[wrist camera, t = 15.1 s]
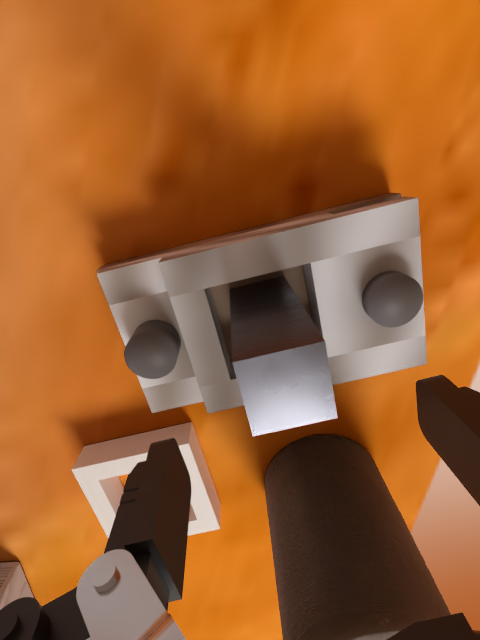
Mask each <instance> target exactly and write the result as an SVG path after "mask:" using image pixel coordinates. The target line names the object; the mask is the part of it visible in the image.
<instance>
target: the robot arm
mask: <svg viewBox="0 0 480 640" xmlns="http://www.w3.org/2000/svg"><path fill="white" fill-rule="evenodd" d="M416 396H417V410H418V421H419V425H420V428H421V431H422V433H423V435H424V436H425V438H426V439H427V441H428V442H429V443H430V444H431V446H432V447H433V448H434V449H435V451H436V452H437V453H438V454H439V456H440V457H441V458H442V459H443V461H444V462H445V463H446V464H447V466H448V467H449V468H450V469H451V471H452V472H453V473H454V474H455V476H456V477H457V478H458V479H459V481H460V482H461V483H462V484H463V486H464V487H465V488H466V489H467V491H468V492H469V493H470V494H471V496H472V497H473V498H474V499H475V500H476V502H477V503H478V504H479V506H480V393H479V392H477V391H475V390H472V389H470V388H468V387H461V388H458V387H457V386H456V385H454V384H453V383H452V382H451V381H450V380H449V379H447V378H446V377H445V376H443V375H439V376H435V377H430V378H426V379H422V380H418V381H417V382H416ZM123 492H124V493H123V494H122V497H121V500H120V506H118V510H117V513H116V516H115V519H114V522H113V526H112V529H111V532H110V535H109V539H108V542H107V545H106V548H105V552H104V554H103V555H101V556H100V557H98V558H97V559H96V560H95V561H94V562H93V563H92V564H91V565H90V566H89V567H88V568H87V569H86V571H85V572H84V574H83V575H82V577H81V579H80V581H79V584H78V586H77V587H76V588H74V589H73V590H71V591H69V592H67V593H66V594H64V595H62V596H60V597H58V598H57V599H55V600H53V601H51V602H49V603H47V604H46V605H44V606H42V607H41V605H40V604H39V603H38V601H37V600H36V599H34V598H32V597H23V598H19V599H17V600H15V601H13V602H11V603H9V604H8V605H6V606H5V607H3V608H2V609H1V610H0V640H186V639H185V637H184V635H183V634H182V632H181V631H180V629H179V627H178V626H177V624H176V623H175V621H174V620H173V618H172V617H171V615H170V614H168V612H167V610H168V602H171V601H175V600H180V599H182V591H183V580H184V569H185V558H186V547H187V536H188V524H189V513H190V502H191V480H190V475H189V472H188V469H187V467H186V464H185V461H184V459H183V456H182V454H181V451H180V449H179V446H178V444H177V441H176V440H175V438H170V439H166V440H162V441H157V442H153V443H151V444H150V447H149V451H148V454H147V458H146V461H143V462H138V463H137V464H136V466H135V467H134V468H133V470H132V471H131V473H130V474H129V475H128V477H127V480H126V484H125V487H124V490H123ZM387 640H480V631H475V630H472V629H471V627H470V625H469V624H468V622H467V620H466V618H465V616H464V615H463V613H458V614H453V615H448V616H443V617H439V618H434V619H429V620H424V621H420V622H415V623H413V624H411V625H410V626H408V627H406V628H405V629H403V630H401V631H400V632H398V633H396V634H395V635H393V636H391V637H390V638H388V639H387Z"/></svg>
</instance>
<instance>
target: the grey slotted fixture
mask: <svg viewBox="0 0 480 640" xmlns="http://www.w3.org/2000/svg"><path fill="white" fill-rule="evenodd" d="M97 272H98V273H97V277H98V279H99V282H100V284H101V287H102V289H103V292H104V294H105V297H106V299H107V302H108V304H109V307H110V309H111V312H112V314H113V317H114V319H115V322H116V324H117V327H118V329H119V332H120V334H121V337H122V339H123V342H124V344H125V351H124V357H125V361H126V364H127V366H128V367H129V368H130V370H131V371H132V372H134V373H135V374H136V375H137V377H138V379H139V382H140V384H141V387H142V389H143V392H144V394H145V397H146V399H147V402H148V404H149V407H150V409H151V412H152V413H155V412H159V411H164V410H168V409H173V408H177V407H181V406H186V405H190V404H194V403H199V402H203V401H204V404H205V407H206V410H207V413H213V412H217V411H222V410H226V409H231V408H235V407H239V406H244V403H243V399H242V396H241V392H240V389H239V385H238V381H237V378H236V374H235V370H234V367H233V363H232V343H231V318H230V293H229V289H231V288H235V287H240V286H244V285H248V284H252V283H256V282H260V281H265V280H269V279H273V278H277V277H281V276H285V278H286V280H287V281H288V283H289V284H290V286H291V288H292V289H293V291H294V292H295V294H296V295H297V297H298V299H299V300H300V302H301V303H302V305H303V307H304V308H305V310H306V311H307V313H308V315H309V316H310V318H311V319H312V321H313V323H314V324H315V326H316V327H317V329H318V331H319V332H320V334H321V335H322V337H323V339H324V340H325V343H326V350H327V356H328V362H329V368H330V374H331V380H332V385H336V384H341V383H345V382H350V381H354V380H358V379H363V378H367V377H372V376H376V375H380V374H385V373H389V372H394V371H398V370H402V369H407V368H411V367H416V366H420V365H424V364H427V355H426V337H425V318H424V299H423V280H422V262H421V243H420V224H419V205H418V198H415V197H401V194H400V193H387V194H383V195H379V196H376V197H372V198H368V199H364V200H360V201H356V202H352V203H348V204H344V205H340V206H336V207H332V208H328V209H324V210H320V211H316V212H312V213H308V214H304V215H300V216H296V217H292V218H288V219H284V220H280V221H276V222H272V223H268V224H264V225H260V226H256V227H252V228H248V229H245V230H241V231H237V232H233V233H229V234H225V235H221V236H217V237H213V238H209V239H205V240H201V241H197V242H193V243H189V244H185V245H181V246H177V247H173V248H169V249H165V250H161V251H157V252H153V253H149V254H145V255H141V256H137V257H133V258H129V259H125V260H121V261H117V262H114V263H110V264H106V265H103V266H102V267H101V268H99V269H98V270H97Z"/></svg>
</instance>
